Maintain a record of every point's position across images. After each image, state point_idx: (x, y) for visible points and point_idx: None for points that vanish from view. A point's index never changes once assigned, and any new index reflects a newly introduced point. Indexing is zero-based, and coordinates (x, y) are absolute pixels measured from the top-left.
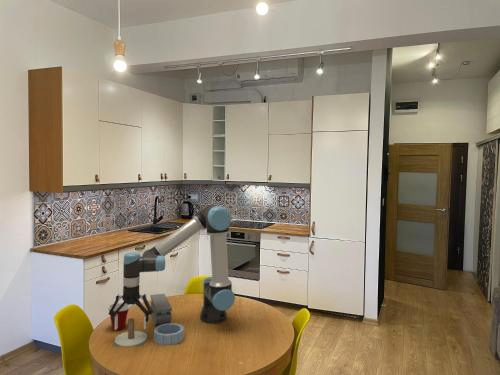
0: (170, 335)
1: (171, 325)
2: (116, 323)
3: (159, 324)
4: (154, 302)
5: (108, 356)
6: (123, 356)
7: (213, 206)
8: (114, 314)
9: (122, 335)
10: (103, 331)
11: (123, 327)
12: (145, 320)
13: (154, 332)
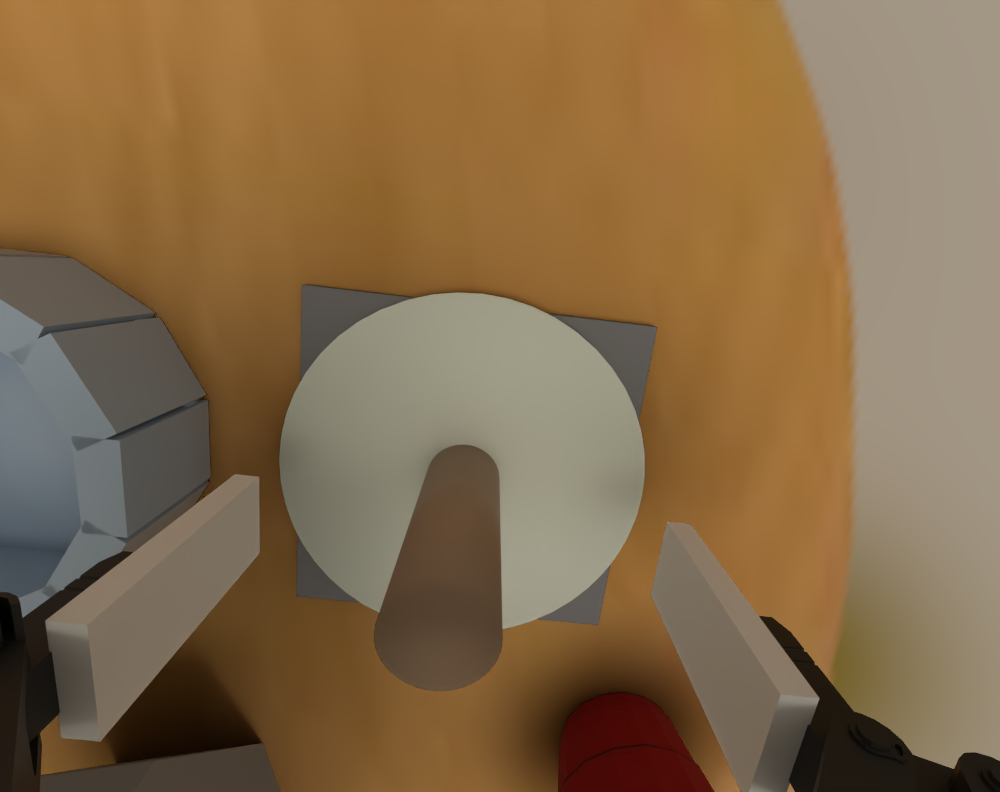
0: None
1: None
2: (702, 587)
3: (205, 751)
4: None
5: (685, 100)
6: (509, 60)
7: None
8: (862, 749)
9: (565, 549)
10: None
11: (570, 731)
12: (134, 553)
13: (110, 408)
